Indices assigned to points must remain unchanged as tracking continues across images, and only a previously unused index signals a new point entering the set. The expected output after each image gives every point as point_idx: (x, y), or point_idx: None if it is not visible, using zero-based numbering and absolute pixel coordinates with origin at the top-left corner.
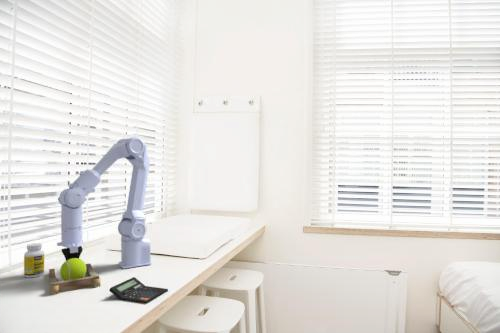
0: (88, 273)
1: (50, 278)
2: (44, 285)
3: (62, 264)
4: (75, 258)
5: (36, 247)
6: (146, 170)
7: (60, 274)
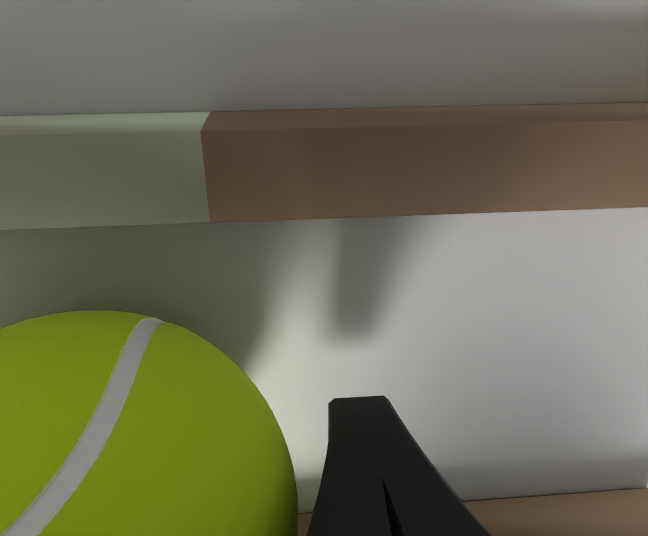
0: None
1: (199, 136)
2: (156, 22)
3: (10, 509)
4: None
5: None
6: None
7: (9, 335)
